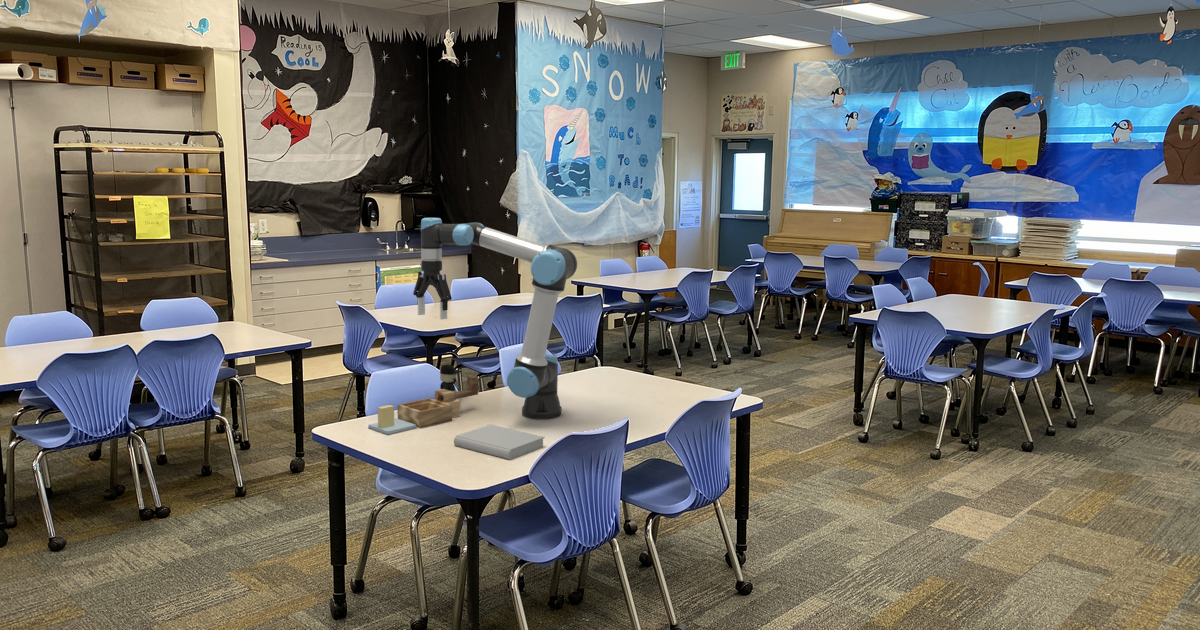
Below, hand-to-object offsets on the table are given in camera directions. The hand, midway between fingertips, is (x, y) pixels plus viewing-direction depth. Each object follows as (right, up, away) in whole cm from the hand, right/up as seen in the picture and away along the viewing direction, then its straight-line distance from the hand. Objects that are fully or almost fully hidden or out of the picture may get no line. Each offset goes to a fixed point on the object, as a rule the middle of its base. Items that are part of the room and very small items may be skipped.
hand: (432, 316), depth 320 cm
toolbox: (0, -38, -4) cm, 38 cm away
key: (+9, -30, +5) cm, 32 cm away
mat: (-11, -39, -16) cm, 44 cm away
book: (+29, -44, -34) cm, 63 cm away
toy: (+3, -34, +24) cm, 41 cm away
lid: (-11, -39, -16) cm, 44 cm away
